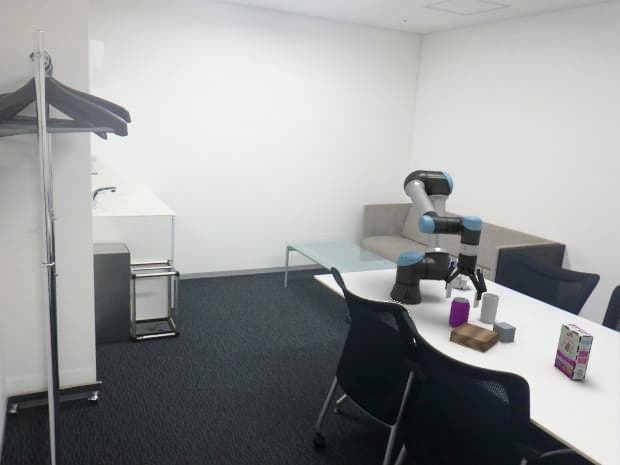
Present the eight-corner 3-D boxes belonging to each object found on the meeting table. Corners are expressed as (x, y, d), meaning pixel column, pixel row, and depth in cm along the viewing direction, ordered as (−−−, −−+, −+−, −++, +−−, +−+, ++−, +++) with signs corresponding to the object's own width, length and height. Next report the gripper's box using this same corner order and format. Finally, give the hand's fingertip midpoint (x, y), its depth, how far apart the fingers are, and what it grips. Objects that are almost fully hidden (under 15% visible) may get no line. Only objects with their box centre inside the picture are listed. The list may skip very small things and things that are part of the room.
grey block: (491, 337, 201) (493, 323, 199) (502, 335, 203) (504, 322, 202) (502, 343, 195) (504, 329, 194) (513, 341, 198) (516, 327, 197)
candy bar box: (585, 380, 169) (594, 336, 165) (571, 380, 168) (580, 336, 165) (566, 365, 179) (574, 323, 176) (553, 365, 179) (561, 323, 176)
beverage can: (468, 325, 212) (471, 298, 209) (465, 331, 205) (469, 304, 202) (449, 321, 215) (453, 295, 212) (447, 327, 208) (450, 300, 205)
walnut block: (449, 340, 194) (451, 330, 193) (464, 331, 204) (465, 322, 204) (484, 352, 185) (485, 342, 184) (497, 342, 196) (499, 332, 195)
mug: (497, 324, 215) (501, 298, 213) (481, 323, 215) (486, 297, 213) (490, 316, 225) (494, 291, 222) (475, 314, 225) (479, 289, 223)
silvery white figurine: (444, 280, 277) (448, 249, 274) (462, 281, 278) (466, 250, 274) (455, 291, 258) (460, 258, 254) (474, 292, 258) (479, 260, 254)
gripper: (437, 247, 210) (432, 295, 214) (490, 261, 191) (483, 313, 195) (448, 246, 215) (442, 292, 219) (500, 259, 196) (493, 310, 200)
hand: (461, 302), depth 207 cm, fingers open, 13 cm apart
